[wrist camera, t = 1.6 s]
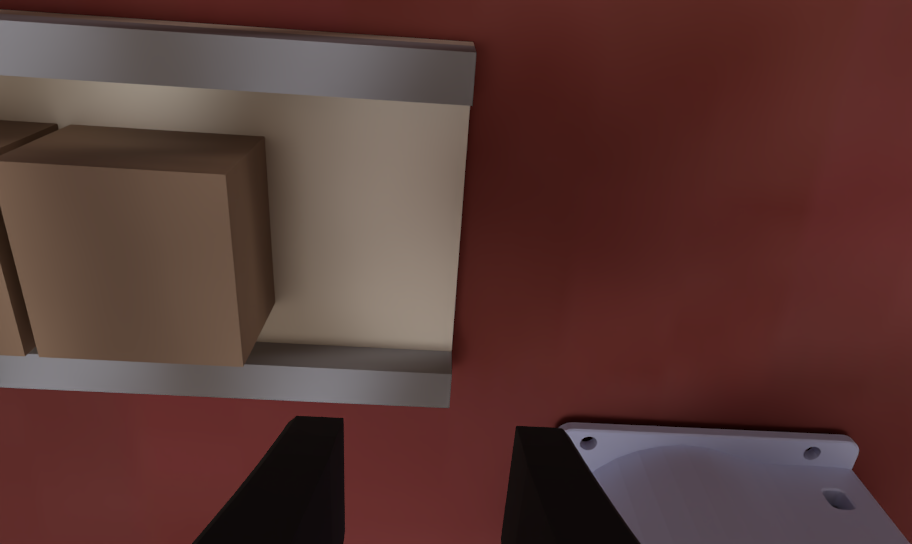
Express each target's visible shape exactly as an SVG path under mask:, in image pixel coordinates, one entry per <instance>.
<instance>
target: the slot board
mask: <svg viewBox="0 0 912 544" xmlns="http://www.w3.org/2000/svg"><path fill="white" fill-rule="evenodd" d="M475 65H476V49H475V46H474V43H473V42H466V41H452V40H437V39H423V38H408V37H394V36H379V35H365V34H350V33H336V32H321V31H307V30H292V29H278V28H263V27H249V26H234V25H220V24H205V23H191V22H176V21H162V20H147V19H133V18H118V17H104V16H89V15H75V14H60V13H46V12H31V11H17V10H2V9H0V120H8V121H24V122H40V123H56V124H58V128H59V129H61V128H64V127H66V126H68V125H70V124H72V125H88V126H105V127H121V128H137V129H153V130H169V131H185V132H201V133H217V134H233V135H249V136H265V150H266V166H267V181H268V197H269V213H270V228H271V244H272V260H273V276H274V291H275V305H274V307H273V309H272V311H271V313H270V315H269V317H268V319H267V321H266V323H265V325H264V327H263V329H262V331H261V333H260V335H259V337H258V339H257V341H256V343H255V345H254V347H253V349H252V351H251V353H250V355H249V357H248V359H247V361H246V363H245V365H244V367H232V366H211V365H191V364H170V363H149V362H129V361H108V360H87V359H67V358H46V357H39V355H38V351H37V347H35V348H34V349H33V350H32V351H31V352H29V353H28V354H27V355H26V356H5V355H0V387H7V388H29V389H50V390H72V391H93V392H115V393H136V394H158V395H179V396H201V397H222V398H244V399H265V400H287V401H308V402H330V403H351V404H373V405H394V406H416V407H437V408H449V404H450V391H451V378H452V339H453V326H454V312H455V299H456V286H457V272H458V259H459V246H460V233H461V219H462V206H463V193H464V179H465V166H466V153H467V139H468V126H469V113H470V106H472V104H473V91H474V78H475Z"/></svg>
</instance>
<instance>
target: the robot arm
mask: <svg viewBox="0 0 912 544" xmlns="http://www.w3.org/2000/svg"><path fill="white" fill-rule="evenodd" d="M585 437H593V439H591V440H590V441H581V440H582V439H583V438H585ZM810 447H812V448H811V449H810V450H808V451H805V450H806V449H808V448H810ZM858 453H859V448H858V445H857V444H856V443H855V442H854V441H853V439H852V438H850V437H849V436H846V435H839V434H817V433H796V432H774V431H752V430H730V429H709V428H687V427H665V426H643V425H622V424H600V423H578V422H570V423H565V424H563V425H561V426H560V427H559V428H549V427H527V426H516V431H515V439H514V446H513V454H512V461H511V468H510V476H509V483H508V491H507V498H506V505H505V513H504V520H503V528H502V535H501V544H910V543H909V542H908V540H907V539H906V538H905V537H904V535H903V534H902V533H901V531H900V530H899V529H898V528H897V526H896V525H895V524H894V523H893V521H892V520H891V519H890V518H889V516H888V515H887V514H886V512H885V511H884V510H883V509H882V507H881V506H880V505H879V504H878V502H877V501H876V500H875V499H874V497H873V496H872V495H871V493H870V492H869V491H868V490H867V488H866V487H865V486H864V485H863V483H862V482H861V481H860V480H859V478H858V477H857V476H856V474H855V473H854V472H853V471H852V468H853V465H854V463H855V461H856V459H857V456H858ZM344 534H345V506H344V424H343V418H330V417H308V416H296V417H295V418H294V419H292V420H291V421H290V422H289V423H288V424H287V425H286V427H285V428H284V430H283V431H282V432H281V434H280V435H279V437H278V438H277V439H276V441H275V442H274V443H273V445H272V446H271V447H270V449H269V450H268V451H267V453H266V454H265V455H264V457H263V458H262V459H261V461H260V462H259V463H258V465H257V466H256V467H255V468H254V470H253V471H252V472H251V473H250V475H249V476H248V477H247V479H246V480H245V481H244V482H243V484H242V485H241V486H240V487H239V489H238V490H237V491H236V492H235V494H234V495H233V496H232V497H231V498H230V500H229V501H228V502H227V503H226V504H225V505H224V507H223V508H222V509H221V510H220V511H219V513H218V514H217V515H216V516H215V517H214V518H213V520H212V521H211V522H210V523H209V524H208V525H207V527H206V528H205V529H204V530H203V531H202V533H201V534H200V535H199V536H198V537H197V538H196V540H195V541H194V542H193V543H192V544H343V541H344Z"/></svg>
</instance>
